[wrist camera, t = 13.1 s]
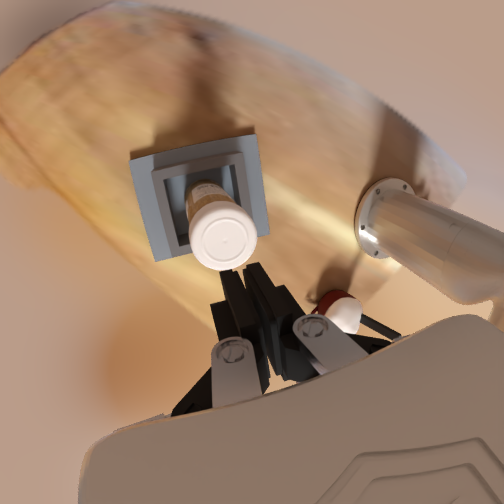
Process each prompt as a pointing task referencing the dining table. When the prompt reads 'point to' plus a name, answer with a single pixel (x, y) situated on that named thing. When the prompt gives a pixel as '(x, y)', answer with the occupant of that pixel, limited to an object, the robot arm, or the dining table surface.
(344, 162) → the dining table surface
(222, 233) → the sprinkles bottle
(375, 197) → the robot arm
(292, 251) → the dining table surface
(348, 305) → the cocoa
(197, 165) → the bottle stand
